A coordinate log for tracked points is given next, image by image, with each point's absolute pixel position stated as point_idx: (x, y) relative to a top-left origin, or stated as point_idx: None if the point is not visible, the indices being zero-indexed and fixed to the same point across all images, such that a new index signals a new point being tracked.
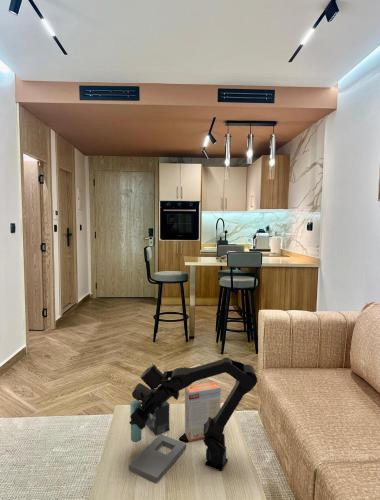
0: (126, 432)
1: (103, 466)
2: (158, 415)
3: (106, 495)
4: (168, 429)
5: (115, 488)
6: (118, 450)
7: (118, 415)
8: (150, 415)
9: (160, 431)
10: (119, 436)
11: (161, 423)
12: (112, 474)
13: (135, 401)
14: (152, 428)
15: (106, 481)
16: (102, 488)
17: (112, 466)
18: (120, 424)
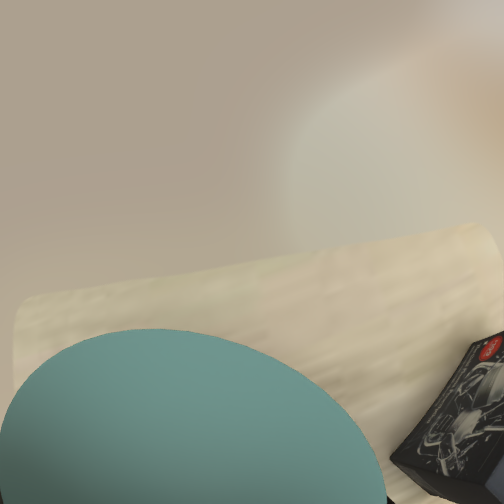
0: (379, 306)
1: (132, 285)
2: (458, 486)
3: (13, 340)
4: (431, 493)
5: (35, 366)
6: (242, 317)
7: (457, 229)
8: (472, 412)
9: (409, 474)
10: (343, 284)
11: (434, 486)
12: (91, 337)
13: (302, 495)
14: (421, 431)
15: (60, 323)
16: (35, 318)
17: (134, 324)
18: (418, 257)
